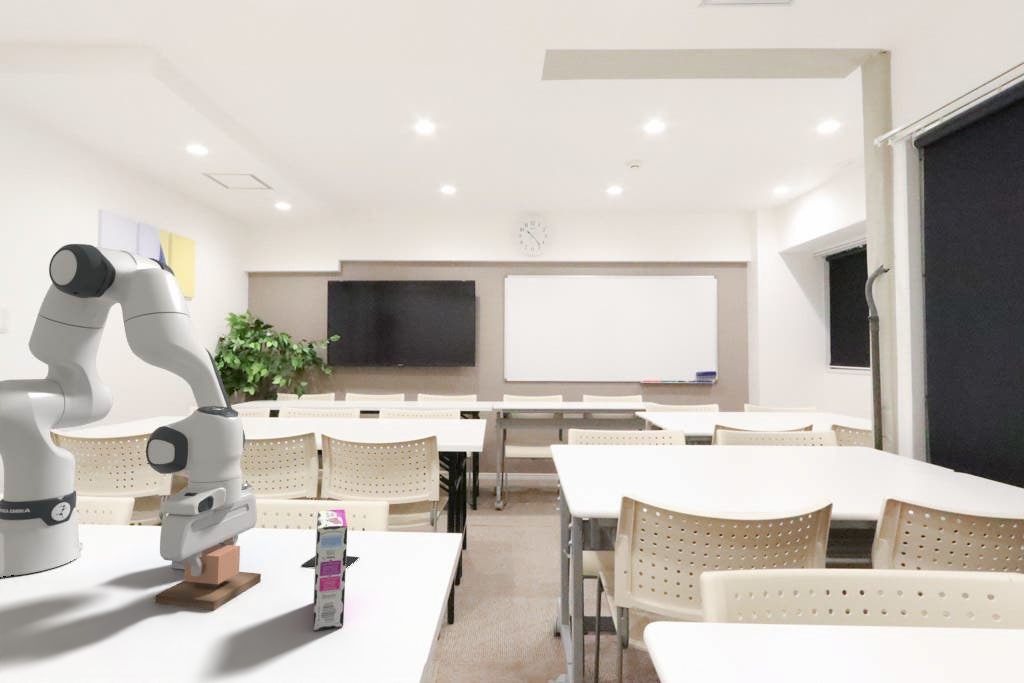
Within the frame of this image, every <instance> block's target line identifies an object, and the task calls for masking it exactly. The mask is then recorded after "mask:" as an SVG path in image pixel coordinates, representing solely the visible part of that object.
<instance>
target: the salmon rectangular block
mask: <svg viewBox="0 0 1024 683" xmlns="http://www.w3.org/2000/svg"><path fill="white" fill-rule="evenodd" d="M240 550H241V546H240V545H235V546H233V545H221V544H216V545H214V546H212V547H210V548H207V549H205V550H203V551H202V556H201V557H199V558H200V561H201V563H204V564H206V567H205V573H203V574H201V575H200V576H192V575H191V566H190V565H189V563H188V561H187V560H186V558H185V570H184V580H183V581H187V582H197V583H208V584H220V583H221V582H223V581H225V580H227V579H229V578H230V577H232V576H234V575H236V574H237V573H239V572H240V556H241V554H240V552H241V551H240Z"/></svg>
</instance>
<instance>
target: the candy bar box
mask: <svg viewBox="0 0 1024 683" xmlns="http://www.w3.org/2000/svg"><path fill="white" fill-rule="evenodd" d="M316 520H317V522H316V535H315V536H316V537H315V538H316V540H315V556H316V557H315V568H314V586H313V588H314V589H313V592H314V593H313V612H312V613H313V618H312V619H313V620H312V621H313V622H312V631H313V632H318V631H325V630H331V629H337V628H338V627H339V628H342V627H344V620H345V619H344V618H345V616H344V615H345V596H346V574H347V573H346V572H347V569H346V556H347V549H348V547H347V545H348V523H347V516H346V510H345V509H331V510H319V511H317V519H316Z"/></svg>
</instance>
